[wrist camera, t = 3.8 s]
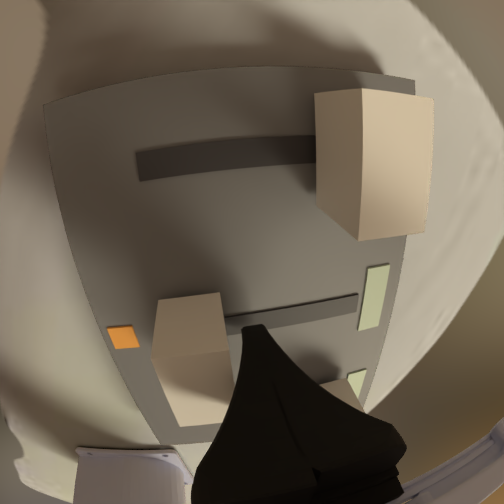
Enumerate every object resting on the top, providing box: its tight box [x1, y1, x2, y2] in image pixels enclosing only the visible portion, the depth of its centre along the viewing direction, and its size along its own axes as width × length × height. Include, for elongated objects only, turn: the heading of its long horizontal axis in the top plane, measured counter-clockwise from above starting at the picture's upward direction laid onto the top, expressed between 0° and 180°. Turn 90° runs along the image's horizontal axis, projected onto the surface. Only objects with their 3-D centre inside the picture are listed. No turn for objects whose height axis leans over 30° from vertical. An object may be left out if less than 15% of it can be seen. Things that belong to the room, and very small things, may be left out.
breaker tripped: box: [151, 292, 235, 427], centre depth 11 cm, size 2×4×3 cm, turn 3°
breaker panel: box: [43, 66, 415, 445], centre depth 14 cm, size 14×20×2 cm
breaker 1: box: [320, 378, 365, 413], centre depth 15 cm, size 2×4×3 cm, turn 3°
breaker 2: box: [314, 88, 434, 241], centre depth 9 cm, size 2×4×3 cm, turn 3°
